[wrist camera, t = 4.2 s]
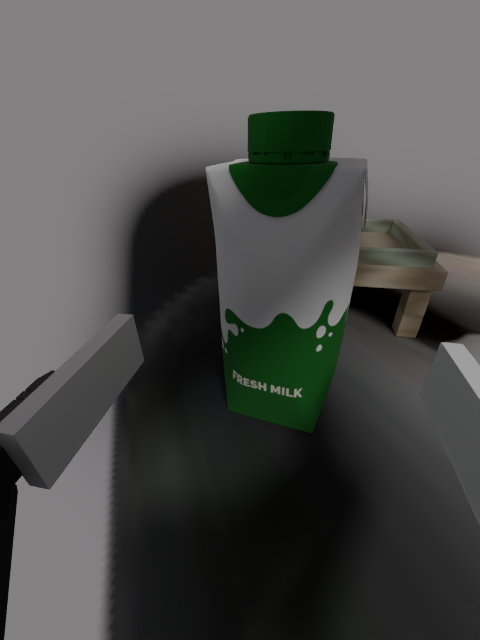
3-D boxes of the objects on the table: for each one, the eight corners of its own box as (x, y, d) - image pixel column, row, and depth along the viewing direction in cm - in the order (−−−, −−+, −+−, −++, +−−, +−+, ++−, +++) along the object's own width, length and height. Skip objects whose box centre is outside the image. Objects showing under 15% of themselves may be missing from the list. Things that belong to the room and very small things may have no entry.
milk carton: (212, 416, 24) (182, 115, 13) (248, 351, 31) (247, 124, 20) (323, 448, 21) (397, 104, 10) (333, 369, 28) (383, 118, 18)
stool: (387, 281, 45) (405, 218, 40) (422, 340, 32) (454, 257, 27) (284, 275, 48) (288, 215, 43) (275, 327, 35) (279, 249, 30)
